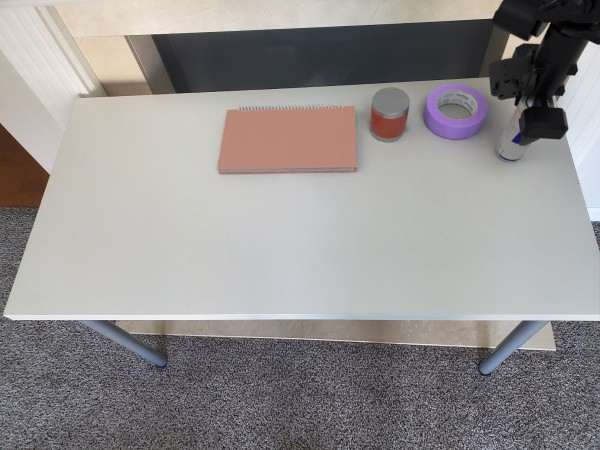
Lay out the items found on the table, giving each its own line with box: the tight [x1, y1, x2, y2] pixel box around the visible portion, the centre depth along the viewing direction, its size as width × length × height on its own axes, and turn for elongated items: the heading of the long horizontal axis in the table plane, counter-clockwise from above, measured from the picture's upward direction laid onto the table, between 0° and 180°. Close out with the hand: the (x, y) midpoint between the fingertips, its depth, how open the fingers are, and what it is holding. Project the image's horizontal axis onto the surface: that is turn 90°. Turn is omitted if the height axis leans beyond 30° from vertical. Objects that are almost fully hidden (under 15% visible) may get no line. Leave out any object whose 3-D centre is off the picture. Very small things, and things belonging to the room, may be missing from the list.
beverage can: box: [495, 96, 555, 163], centre depth 78 cm, size 5×5×15 cm
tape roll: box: [423, 83, 489, 140], centre depth 89 cm, size 12×12×4 cm
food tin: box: [369, 86, 411, 143], centre depth 87 cm, size 7×7×8 cm
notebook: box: [216, 103, 358, 175], centre depth 91 cm, size 27×17×2 cm, turn 88°
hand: (519, 124), depth 79 cm, fingers open, 9 cm apart
